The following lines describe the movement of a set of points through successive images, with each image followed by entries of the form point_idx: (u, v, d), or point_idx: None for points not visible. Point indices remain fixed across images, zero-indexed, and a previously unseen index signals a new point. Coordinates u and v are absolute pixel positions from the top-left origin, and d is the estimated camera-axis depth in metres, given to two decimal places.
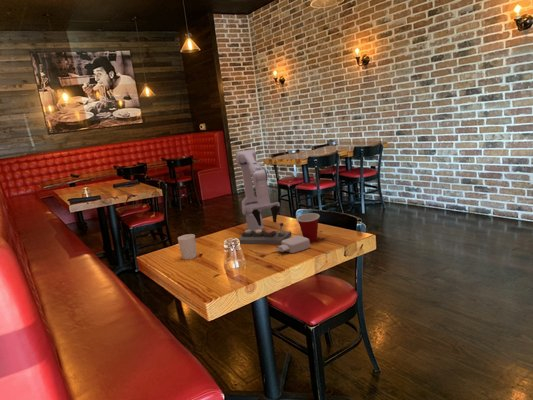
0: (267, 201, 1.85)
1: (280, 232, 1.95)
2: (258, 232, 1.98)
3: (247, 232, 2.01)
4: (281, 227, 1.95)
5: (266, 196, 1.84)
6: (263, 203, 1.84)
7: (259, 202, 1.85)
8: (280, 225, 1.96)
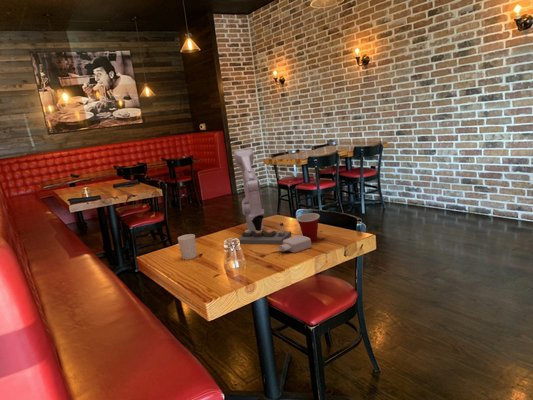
0: (261, 209, 1.97)
1: (280, 232, 1.95)
2: (258, 232, 1.98)
3: (247, 232, 2.01)
4: (281, 227, 1.95)
5: (260, 204, 1.97)
6: (259, 211, 1.96)
7: (255, 211, 1.95)
8: (280, 225, 1.96)
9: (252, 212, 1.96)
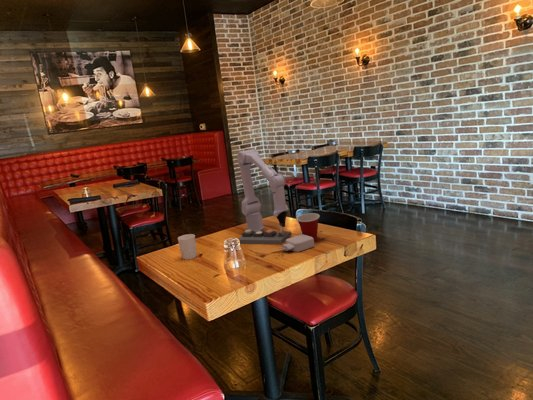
0: (285, 205, 1.95)
1: (280, 232, 1.95)
2: None
3: (247, 232, 2.01)
4: (281, 227, 1.95)
5: None
6: (284, 207, 1.93)
7: (280, 207, 1.92)
8: (280, 225, 1.95)
9: (276, 208, 1.93)
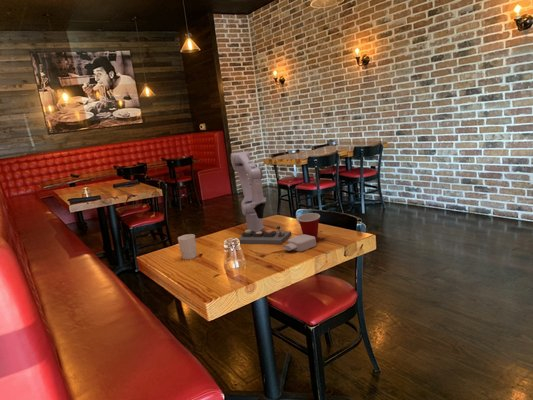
0: (263, 197, 2.00)
1: (280, 233, 1.95)
2: None
3: (247, 232, 2.01)
4: (279, 230, 1.93)
5: (262, 192, 1.99)
6: (261, 199, 1.98)
7: (257, 198, 1.97)
8: None
9: (254, 200, 1.98)
